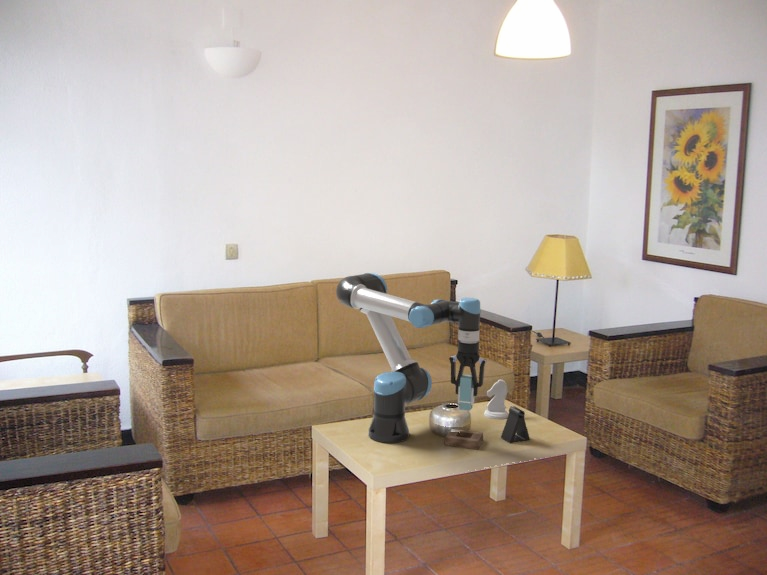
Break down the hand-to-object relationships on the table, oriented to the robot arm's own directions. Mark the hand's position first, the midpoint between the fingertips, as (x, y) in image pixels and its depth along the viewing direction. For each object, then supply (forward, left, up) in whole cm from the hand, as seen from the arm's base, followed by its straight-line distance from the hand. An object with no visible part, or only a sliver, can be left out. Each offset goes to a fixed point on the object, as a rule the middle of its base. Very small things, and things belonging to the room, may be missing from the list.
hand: (466, 403), depth 286 cm
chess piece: (+5, +36, -15) cm, 39 cm away
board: (0, 0, -15) cm, 15 cm away
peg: (0, 0, -2) cm, 2 cm away
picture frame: (+17, +11, -15) cm, 25 cm away
